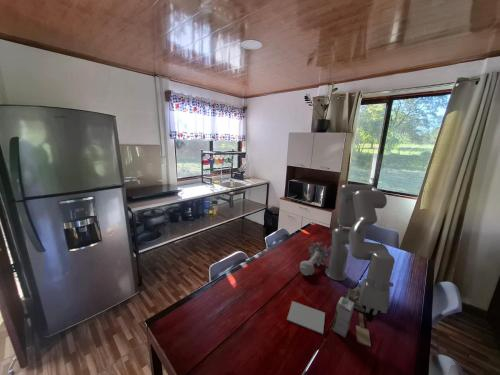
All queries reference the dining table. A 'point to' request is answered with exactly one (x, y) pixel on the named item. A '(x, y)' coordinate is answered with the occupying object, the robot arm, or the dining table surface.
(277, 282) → the dining table surface
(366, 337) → the turner
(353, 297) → the ceramic cottage
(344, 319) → the syrup box
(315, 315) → the mat
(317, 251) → the flower vase
